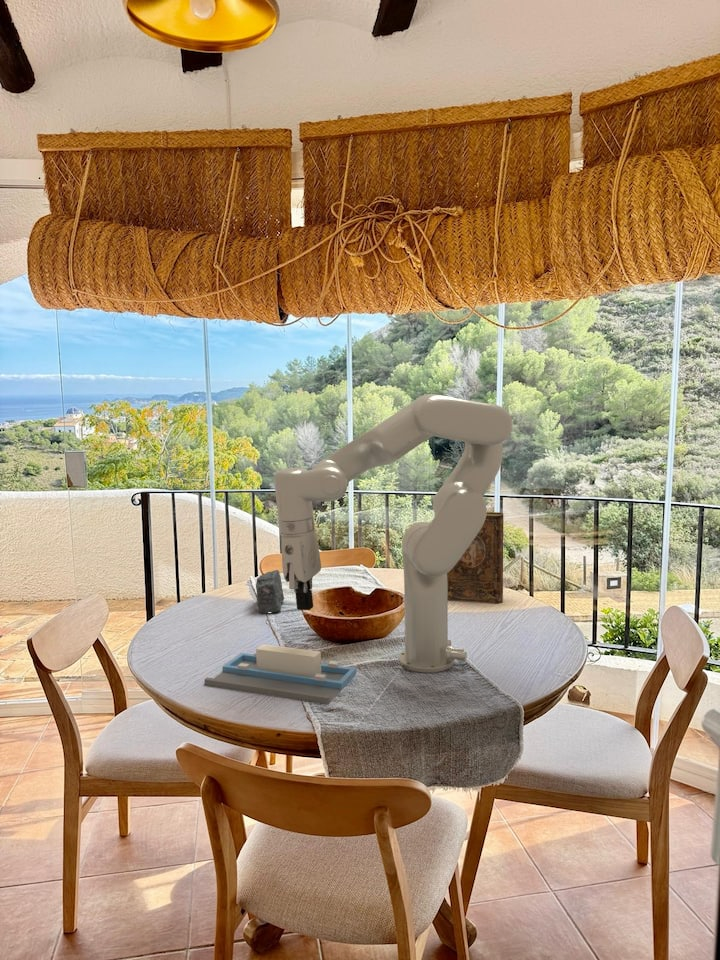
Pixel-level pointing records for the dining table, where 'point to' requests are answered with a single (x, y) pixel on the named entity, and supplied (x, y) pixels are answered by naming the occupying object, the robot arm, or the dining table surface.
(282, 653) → the bar
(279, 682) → the board
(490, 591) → the book
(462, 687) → the dining table surface
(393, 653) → the dining table surface
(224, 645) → the dining table surface
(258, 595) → the stone
